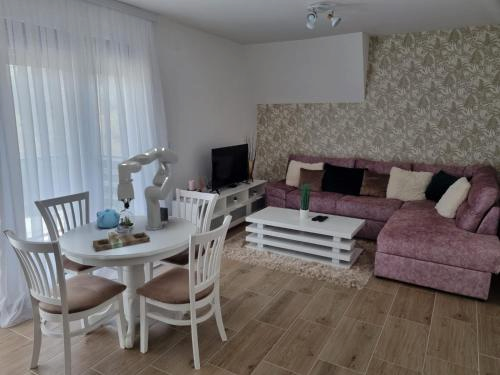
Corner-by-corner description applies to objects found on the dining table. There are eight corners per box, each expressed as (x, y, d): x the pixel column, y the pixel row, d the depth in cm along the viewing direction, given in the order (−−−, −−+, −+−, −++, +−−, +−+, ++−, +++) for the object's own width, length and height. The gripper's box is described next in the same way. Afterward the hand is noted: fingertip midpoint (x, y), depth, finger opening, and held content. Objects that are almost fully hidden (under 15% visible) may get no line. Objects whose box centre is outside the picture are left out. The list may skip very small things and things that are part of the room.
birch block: (116, 238, 233) (116, 231, 232) (119, 241, 228) (118, 233, 227) (108, 240, 231) (108, 232, 230) (110, 242, 226) (110, 235, 225)
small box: (168, 220, 284) (168, 207, 282) (164, 222, 278) (163, 209, 276) (157, 219, 288) (156, 206, 286) (152, 221, 282) (152, 208, 280)
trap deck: (144, 236, 247) (143, 232, 246) (149, 241, 236) (149, 237, 235) (93, 245, 229) (92, 240, 229) (96, 251, 219) (96, 247, 218)
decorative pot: (121, 227, 265) (120, 210, 263) (98, 230, 258) (96, 212, 256) (118, 222, 280) (117, 205, 277) (96, 224, 273) (95, 207, 270)
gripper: (135, 179, 241) (136, 205, 245) (112, 181, 234) (114, 208, 237) (138, 181, 235) (139, 208, 239) (114, 183, 227) (116, 211, 231)
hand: (127, 208), depth 238 cm, fingers closed
